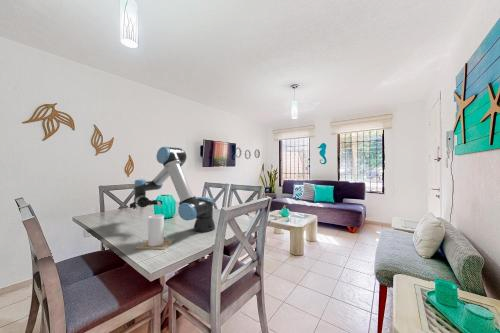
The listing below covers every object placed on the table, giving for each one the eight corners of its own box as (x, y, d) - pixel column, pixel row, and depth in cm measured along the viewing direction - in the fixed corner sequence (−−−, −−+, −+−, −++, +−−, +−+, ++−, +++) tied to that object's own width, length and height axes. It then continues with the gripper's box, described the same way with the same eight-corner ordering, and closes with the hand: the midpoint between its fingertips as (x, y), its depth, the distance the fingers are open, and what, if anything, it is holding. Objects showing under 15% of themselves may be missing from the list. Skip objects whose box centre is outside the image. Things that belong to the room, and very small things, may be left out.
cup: (151, 240, 119) (151, 214, 118) (165, 240, 119) (165, 214, 119) (145, 246, 110) (145, 218, 110) (160, 246, 111) (160, 218, 111)
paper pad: (174, 240, 121) (174, 239, 121) (164, 249, 108) (164, 248, 108) (148, 239, 122) (148, 238, 122) (136, 248, 109) (136, 247, 109)
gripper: (160, 204, 153) (169, 209, 137) (122, 208, 137) (127, 214, 121) (160, 194, 153) (169, 198, 136) (122, 198, 137) (127, 202, 121)
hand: (149, 206), depth 129 cm, fingers open, 13 cm apart
